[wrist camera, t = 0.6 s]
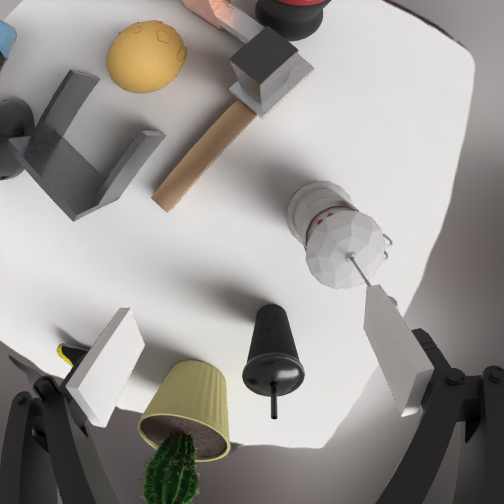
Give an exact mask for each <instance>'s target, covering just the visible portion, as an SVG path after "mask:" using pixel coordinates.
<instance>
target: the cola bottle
mask: <svg viewBox="0 0 504 504" xmlns="http://www.w3.org/2000/svg"><path fill="white" fill-rule="evenodd" d="M330 1H331V0H258V1H257V4H256V10H255V11H256V17H257V20H258V22H259V23H260V24H261V25H262V26H264V27H267V26H269V27H270V28H272V29H273V30H274V31H276V32H277V33H278V34H280V35H281V36H282V37H283V38H285V39H286V40H287V41H297V40H301V39H304V38H307V37H308V36H310V35H312V34H313V33H314V32H315V31H316V30H317V29H318V28H319V26H320V24H321V22H322V19H323V8H324V7H325V6H326V5H327V4H328V3H329V2H330Z"/></svg>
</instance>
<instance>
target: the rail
mask: <svg viewBox="0 0 504 504" xmlns="http://www.w3.org/2000/svg"><path fill="white" fill-rule="evenodd" d="M257 116H258V115H256V114H255V113H254V112H253V111H252V110H251V109H250V108H248V107H247V106H246V105H245V104H244V103H243V102H242V101H240V100H239V99H237V100H236V101H235V102H234V103H233V104H232V105H231V106H230V107H229V108H228V109H227V110H226V111H225V112H224V113H223V114H222V115H221V117H220V118H219V119H218V120H217V121H216V122H215V123H214V124H213V125H212V126H211V127H210V128H209V129H208V130H207V132H206V133H205V134H204V135H203V136H202V137H201V138H200V139H199V140H198V142H197V143H196V144H195V145H194V146H193V147H192V148H191V149H190V151H189V152H188V153H187V154H186V155H185V156H184V158H183V159H182V160H181V161H180V162H179V163H178V165H177V166H176V167H175V168H174V169H173V171H172V172H171V173H170V174H169V176H168V177H167V178H166V179H165V180H164V182H163V183H162V184H161V185H160V187H159V188H158V189H157V191H156V192H155V193H154V194H153V196H152V197H151V199H153V200H154V201H155V202H156V203H157V204H158V205H159V206H160V207H161V208H163V209H164V210H165V211H166V212H168V211H170V210H171V209H172V208H174V206H175V205H176V204H177V203H178V202H179V200H180V199H181V198H182V197H183V196H184V194H185V193H186V192H187V191H188V190H189V189H190V188H191V186H192V185H193V184H194V183H195V182H196V181H197V179H198V178H199V177H200V176H201V175H202V174H203V173H204V172H205V170H206V169H207V168H208V167H209V166H210V165H211V164H212V163H213V162H214V161H215V159H216V158H217V157H218V156H219V155H220V154H221V153H222V152H223V151H224V150H225V149H226V148H227V147H228V145H229V144H230V143H231V142H232V141H233V140H234V139H235V138H236V137H237V136H238V135H239V134H240V133H241V132H242V131H243V130H244V129H245V128H246V127H247V126H248V125H249V124H250V123H251V122H252V121H253V120H254V119H255V118H256V117H257Z"/></svg>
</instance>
